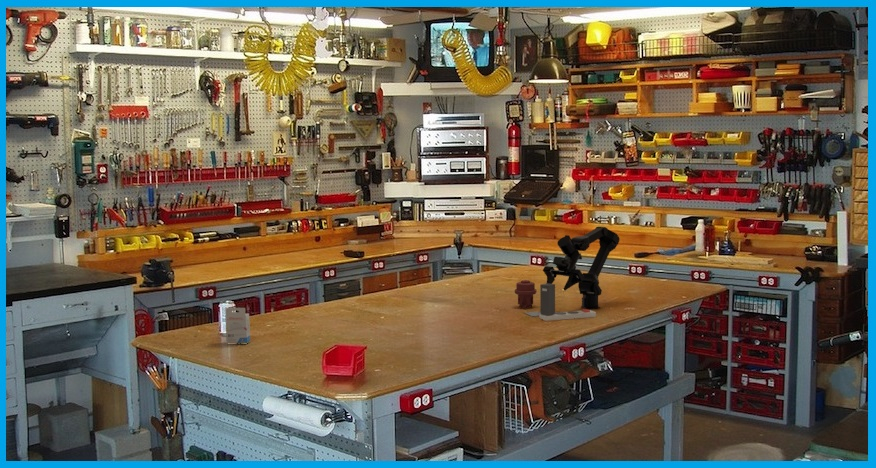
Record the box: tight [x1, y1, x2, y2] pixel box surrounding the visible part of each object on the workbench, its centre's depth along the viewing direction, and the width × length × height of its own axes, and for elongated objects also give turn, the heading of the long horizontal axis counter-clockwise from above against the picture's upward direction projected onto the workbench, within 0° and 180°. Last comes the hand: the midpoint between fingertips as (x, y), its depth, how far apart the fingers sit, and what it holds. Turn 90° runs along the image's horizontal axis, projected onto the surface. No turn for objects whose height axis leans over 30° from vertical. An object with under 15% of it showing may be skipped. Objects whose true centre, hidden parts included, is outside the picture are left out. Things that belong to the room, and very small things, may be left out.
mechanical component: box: [514, 279, 537, 310], centre depth 473 cm, size 12×10×10 cm
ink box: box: [225, 307, 251, 344], centre depth 406 cm, size 8×5×15 cm, turn 83°
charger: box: [539, 282, 556, 315], centre depth 445 cm, size 5×4×13 cm
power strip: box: [539, 308, 597, 322], centre depth 448 cm, size 24×6×3 cm, turn 107°
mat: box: [524, 311, 540, 318], centre depth 456 cm, size 8×8×1 cm
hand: (555, 288), depth 449 cm, fingers open, 9 cm apart
